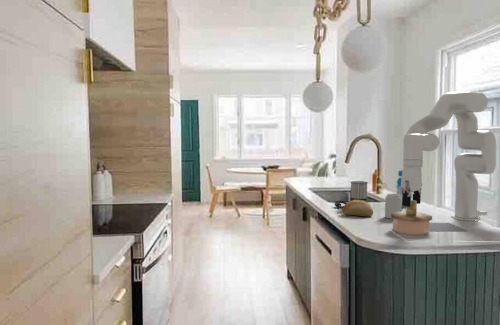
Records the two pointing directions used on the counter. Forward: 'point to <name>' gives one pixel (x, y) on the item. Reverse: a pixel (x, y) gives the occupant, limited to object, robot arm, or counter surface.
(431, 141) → the robot arm
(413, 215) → the lid
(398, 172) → the beverage bottle
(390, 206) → the can
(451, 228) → the mat
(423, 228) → the bowl
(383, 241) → the counter surface
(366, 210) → the bread roll
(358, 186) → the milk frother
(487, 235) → the counter surface
